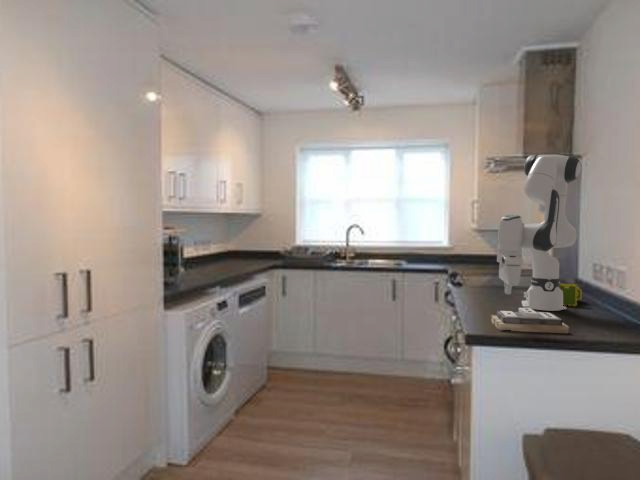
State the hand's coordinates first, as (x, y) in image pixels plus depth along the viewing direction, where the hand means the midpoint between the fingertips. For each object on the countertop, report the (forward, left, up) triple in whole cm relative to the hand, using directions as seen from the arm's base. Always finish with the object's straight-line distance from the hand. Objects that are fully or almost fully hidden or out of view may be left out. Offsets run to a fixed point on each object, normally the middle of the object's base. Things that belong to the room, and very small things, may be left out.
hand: (507, 293), depth 189 cm
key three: (+1, +14, -10) cm, 17 cm away
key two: (+1, +7, -8) cm, 11 cm away
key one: (+1, 0, -10) cm, 10 cm away
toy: (-66, +40, -13) cm, 78 cm away
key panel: (+1, +7, -12) cm, 15 cm away
